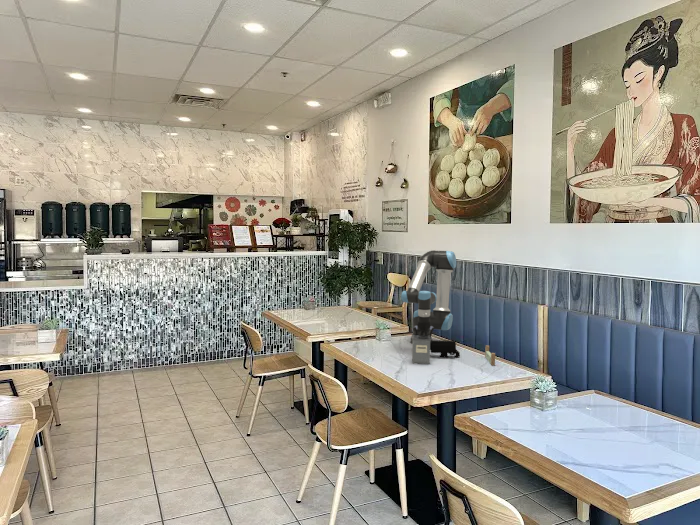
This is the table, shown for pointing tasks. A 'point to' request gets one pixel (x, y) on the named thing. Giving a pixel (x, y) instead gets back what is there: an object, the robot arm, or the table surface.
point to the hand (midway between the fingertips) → (423, 353)
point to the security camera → (444, 348)
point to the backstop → (490, 356)
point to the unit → (421, 349)
